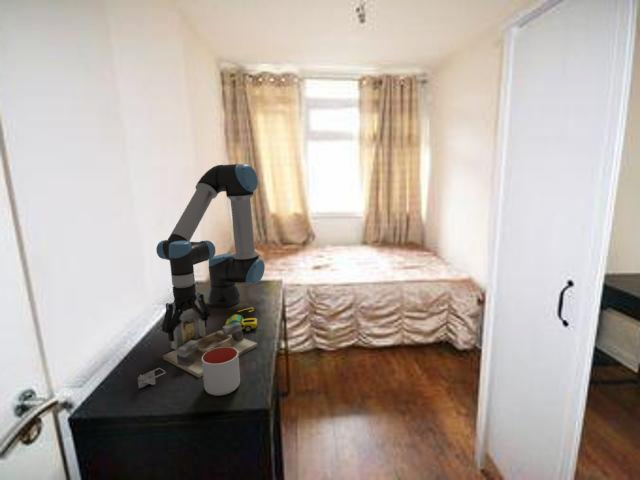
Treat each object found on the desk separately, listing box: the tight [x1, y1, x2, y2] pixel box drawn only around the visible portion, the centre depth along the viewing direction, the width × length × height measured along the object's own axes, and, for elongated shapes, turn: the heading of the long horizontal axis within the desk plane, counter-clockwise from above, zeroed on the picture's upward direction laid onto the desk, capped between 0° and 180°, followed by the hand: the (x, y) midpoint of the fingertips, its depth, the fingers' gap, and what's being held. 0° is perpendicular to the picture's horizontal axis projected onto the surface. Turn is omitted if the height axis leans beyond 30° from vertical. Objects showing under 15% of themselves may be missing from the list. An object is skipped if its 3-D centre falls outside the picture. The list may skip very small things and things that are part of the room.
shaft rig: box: [162, 322, 258, 378], centre depth 123 cm, size 25×20×7 cm
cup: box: [202, 347, 241, 397], centre depth 102 cm, size 10×10×10 cm
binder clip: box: [137, 367, 167, 389], centre depth 104 cm, size 6×4×6 cm, turn 141°
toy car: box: [224, 307, 259, 332], centre depth 141 cm, size 12×8×8 cm, turn 97°
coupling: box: [180, 317, 197, 346], centre depth 130 cm, size 4×4×9 cm
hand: (189, 342), depth 131 cm, fingers open, 11 cm apart
